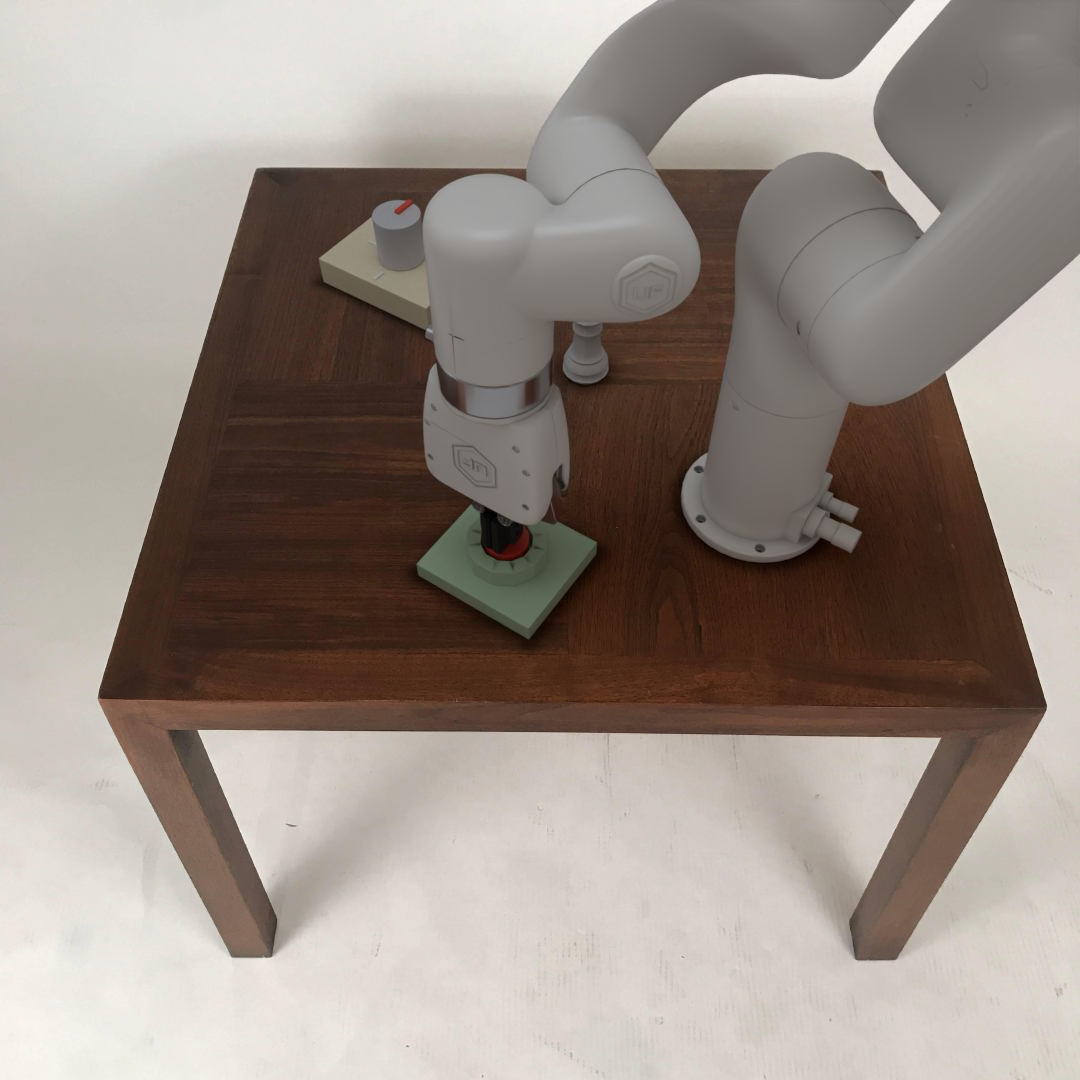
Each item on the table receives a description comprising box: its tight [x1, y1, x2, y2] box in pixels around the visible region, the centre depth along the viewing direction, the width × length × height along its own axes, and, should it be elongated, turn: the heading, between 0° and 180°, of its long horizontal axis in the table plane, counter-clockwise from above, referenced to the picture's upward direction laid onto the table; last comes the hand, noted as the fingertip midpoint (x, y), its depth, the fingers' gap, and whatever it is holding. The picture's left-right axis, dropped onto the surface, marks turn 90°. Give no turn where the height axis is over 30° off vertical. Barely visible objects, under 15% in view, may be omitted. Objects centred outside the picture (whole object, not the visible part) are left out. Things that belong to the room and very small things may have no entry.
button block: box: [416, 504, 598, 640], centre depth 80 cm, size 11×10×4 cm
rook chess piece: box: [562, 322, 609, 385], centre depth 92 cm, size 4×4×8 cm
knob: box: [371, 198, 425, 271], centre depth 99 cm, size 5×5×5 cm
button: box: [485, 526, 529, 561], centre depth 79 cm, size 4×4×2 cm
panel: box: [318, 216, 432, 331], centre depth 102 cm, size 14×10×3 cm
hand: (502, 538), depth 78 cm, fingers closed
